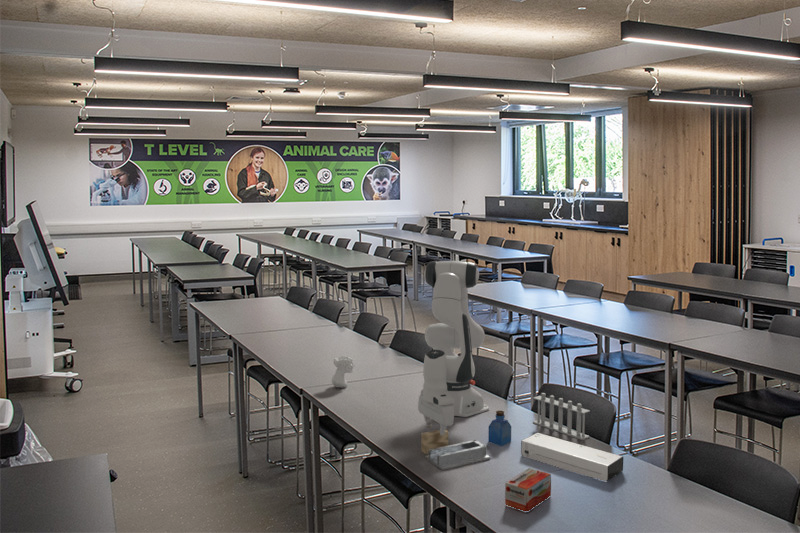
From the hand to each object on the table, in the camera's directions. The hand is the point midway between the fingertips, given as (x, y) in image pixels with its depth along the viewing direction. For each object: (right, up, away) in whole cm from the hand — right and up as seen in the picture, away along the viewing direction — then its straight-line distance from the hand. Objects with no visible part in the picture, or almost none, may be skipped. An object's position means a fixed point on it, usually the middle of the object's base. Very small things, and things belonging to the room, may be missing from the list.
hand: (435, 430), depth 255 cm
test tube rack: (+51, -5, +21) cm, 56 cm away
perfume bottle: (+25, -7, +9) cm, 28 cm away
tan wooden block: (0, -8, +2) cm, 8 cm away
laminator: (+47, -10, -12) cm, 50 cm away
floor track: (+8, -8, -7) cm, 13 cm away
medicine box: (+27, -13, -41) cm, 50 cm away
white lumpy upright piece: (-41, +2, +81) cm, 91 cm away
